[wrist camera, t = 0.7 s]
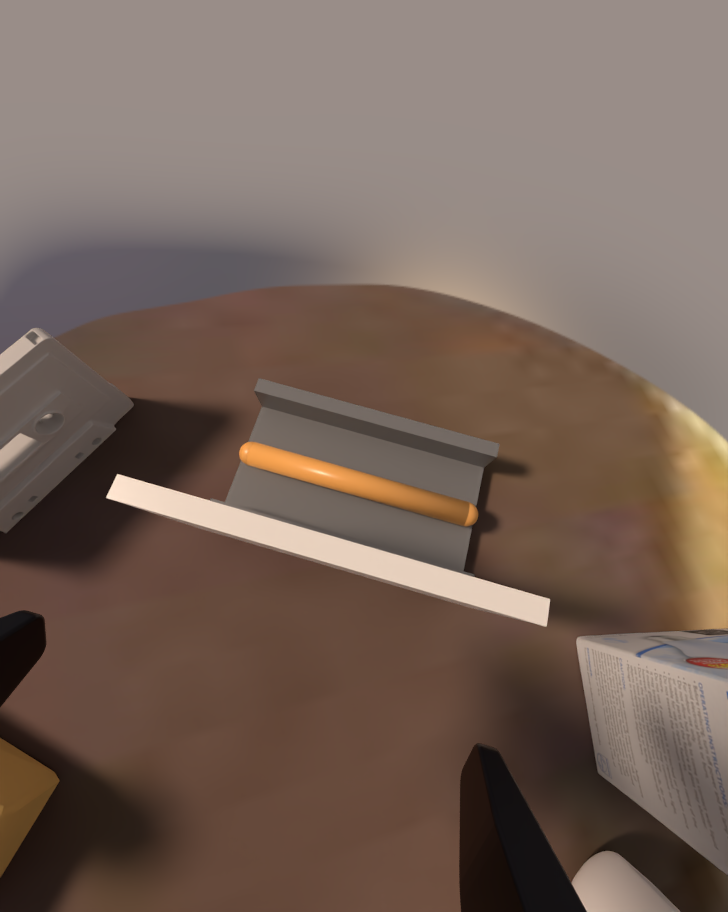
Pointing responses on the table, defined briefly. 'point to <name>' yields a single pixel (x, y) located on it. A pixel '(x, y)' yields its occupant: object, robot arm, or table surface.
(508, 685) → the table surface
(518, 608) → the white rectangular panel
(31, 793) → the rubber stamp
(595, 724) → the light bulb box
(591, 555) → the table surface
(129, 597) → the table surface
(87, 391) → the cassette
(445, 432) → the cable duct
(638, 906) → the cable organizer
